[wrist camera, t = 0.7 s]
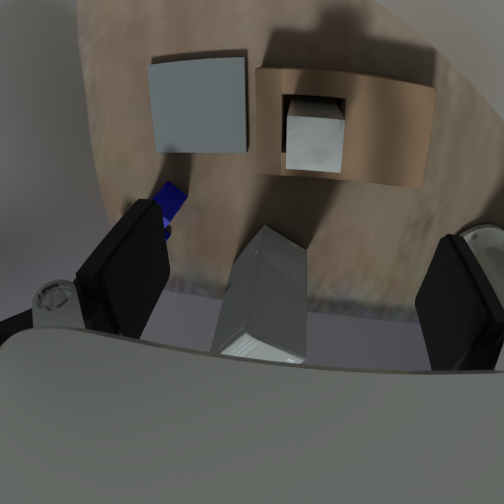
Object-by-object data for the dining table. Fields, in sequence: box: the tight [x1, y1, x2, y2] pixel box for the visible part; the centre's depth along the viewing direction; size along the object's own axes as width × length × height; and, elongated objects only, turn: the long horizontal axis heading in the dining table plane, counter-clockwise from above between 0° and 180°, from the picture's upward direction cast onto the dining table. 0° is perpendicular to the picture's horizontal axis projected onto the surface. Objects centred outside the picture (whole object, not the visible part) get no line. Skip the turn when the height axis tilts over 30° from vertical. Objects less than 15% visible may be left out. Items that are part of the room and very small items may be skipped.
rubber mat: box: [147, 57, 248, 153], centre depth 30 cm, size 10×10×1 cm
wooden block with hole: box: [255, 66, 437, 189], centre depth 28 cm, size 16×10×4 cm, turn 91°
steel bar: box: [286, 96, 345, 173], centre depth 26 cm, size 4×4×10 cm
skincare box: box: [210, 225, 307, 364], centre depth 34 cm, size 8×7×16 cm
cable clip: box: [152, 181, 187, 241], centre depth 38 cm, size 12×4×6 cm, turn 138°
